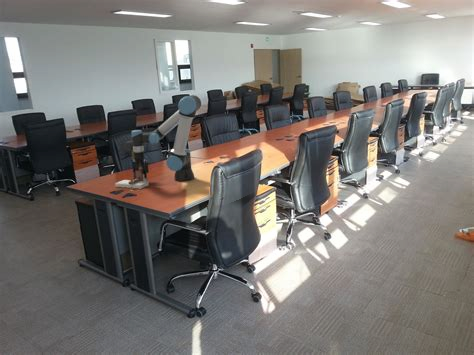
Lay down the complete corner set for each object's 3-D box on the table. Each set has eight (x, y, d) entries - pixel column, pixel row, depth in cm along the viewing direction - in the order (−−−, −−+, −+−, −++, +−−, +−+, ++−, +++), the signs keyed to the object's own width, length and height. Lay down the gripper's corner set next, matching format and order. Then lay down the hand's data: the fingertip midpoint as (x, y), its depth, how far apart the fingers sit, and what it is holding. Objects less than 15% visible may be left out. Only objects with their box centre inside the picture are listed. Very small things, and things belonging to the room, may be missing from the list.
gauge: (141, 181, 301) (140, 168, 298) (147, 181, 299) (145, 169, 296) (127, 187, 286) (126, 174, 283) (133, 188, 284) (131, 174, 281)
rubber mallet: (137, 175, 319) (133, 139, 311) (145, 176, 316) (141, 139, 308) (127, 179, 308) (122, 141, 300) (134, 180, 305) (130, 142, 297)
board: (124, 183, 300) (123, 179, 299) (148, 185, 291) (148, 181, 291) (115, 186, 291) (115, 183, 290) (140, 188, 282) (140, 185, 282)
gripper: (125, 151, 291) (128, 182, 297) (145, 152, 284) (149, 184, 290) (131, 149, 298) (134, 179, 304) (151, 150, 291) (154, 181, 297)
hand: (141, 181), depth 297 cm, fingers closed on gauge, 5 cm apart
